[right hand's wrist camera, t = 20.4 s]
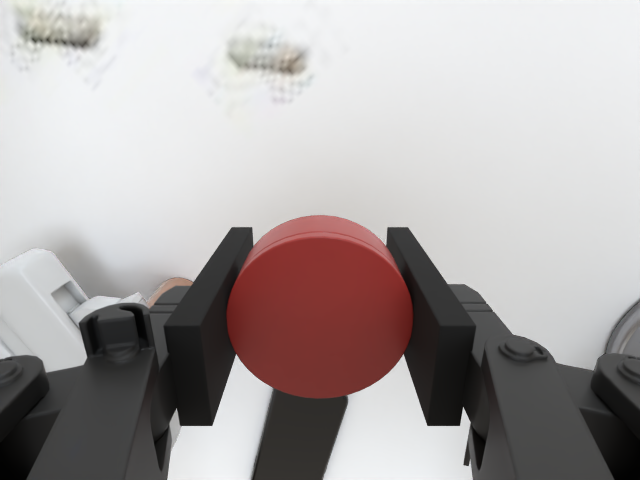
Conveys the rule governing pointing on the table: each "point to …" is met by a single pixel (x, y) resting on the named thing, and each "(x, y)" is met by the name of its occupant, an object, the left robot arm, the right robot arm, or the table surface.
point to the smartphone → (298, 437)
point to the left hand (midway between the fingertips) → (162, 332)
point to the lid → (319, 308)
